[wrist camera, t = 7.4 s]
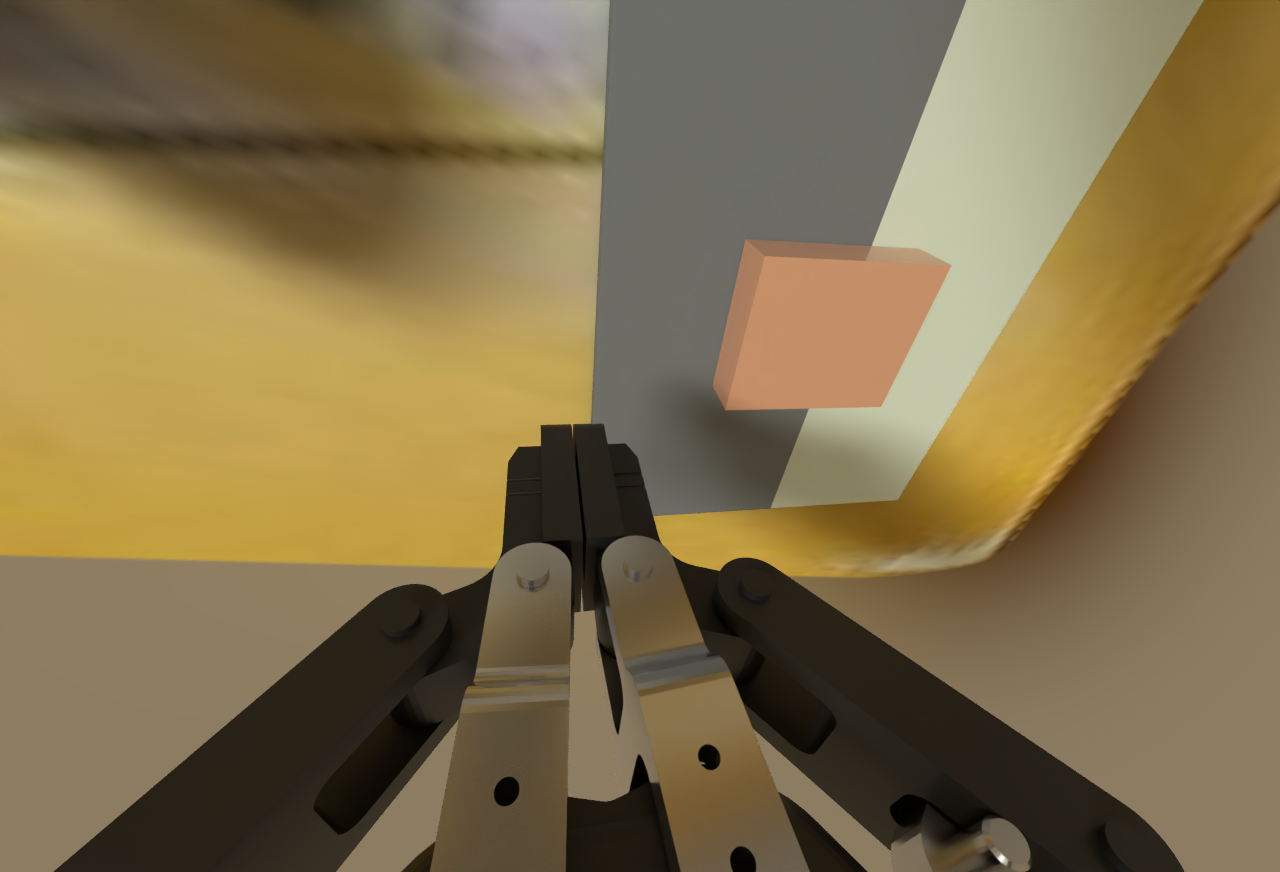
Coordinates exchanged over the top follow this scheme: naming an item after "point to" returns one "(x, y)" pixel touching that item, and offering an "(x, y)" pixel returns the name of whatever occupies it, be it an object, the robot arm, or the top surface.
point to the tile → (822, 323)
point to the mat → (837, 206)
